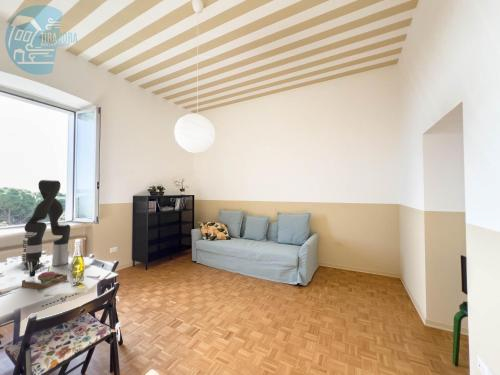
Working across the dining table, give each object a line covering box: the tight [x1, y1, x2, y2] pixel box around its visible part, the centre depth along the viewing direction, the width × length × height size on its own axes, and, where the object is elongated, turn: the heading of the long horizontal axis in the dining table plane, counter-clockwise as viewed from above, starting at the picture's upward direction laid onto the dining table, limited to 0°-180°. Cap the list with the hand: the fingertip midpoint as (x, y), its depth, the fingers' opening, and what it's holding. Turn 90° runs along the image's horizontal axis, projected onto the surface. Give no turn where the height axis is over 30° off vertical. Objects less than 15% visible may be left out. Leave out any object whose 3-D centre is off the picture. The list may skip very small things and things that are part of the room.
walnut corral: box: [21, 270, 68, 290], centre depth 138 cm, size 16×15×4 cm
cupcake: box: [37, 265, 56, 284], centre depth 138 cm, size 9×8×12 cm
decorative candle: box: [21, 232, 37, 264], centre depth 175 cm, size 9×9×25 cm
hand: (32, 276), depth 141 cm, fingers closed
